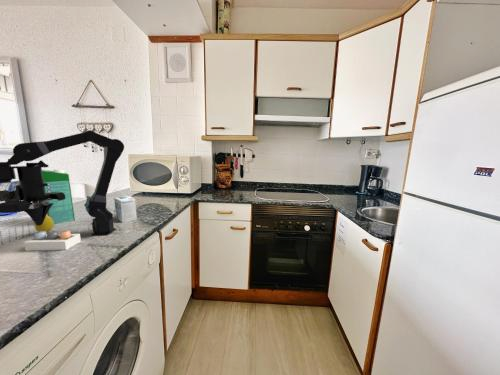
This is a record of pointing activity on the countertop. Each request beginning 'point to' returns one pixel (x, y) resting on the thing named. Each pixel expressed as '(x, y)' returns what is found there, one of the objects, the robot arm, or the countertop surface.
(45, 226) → the lemon
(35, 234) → the slate button
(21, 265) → the countertop surface
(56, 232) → the charcoal button
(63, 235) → the terracotta button
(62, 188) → the milk carton
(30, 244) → the frame
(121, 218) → the light bulb box
